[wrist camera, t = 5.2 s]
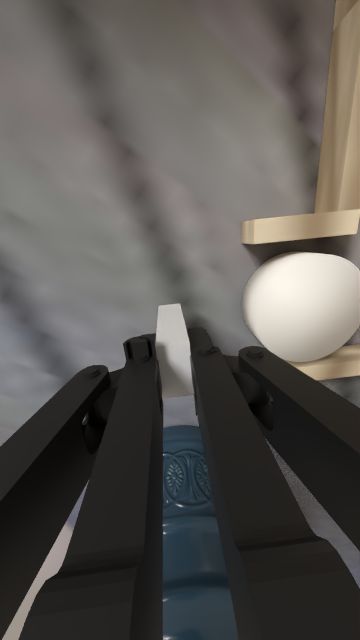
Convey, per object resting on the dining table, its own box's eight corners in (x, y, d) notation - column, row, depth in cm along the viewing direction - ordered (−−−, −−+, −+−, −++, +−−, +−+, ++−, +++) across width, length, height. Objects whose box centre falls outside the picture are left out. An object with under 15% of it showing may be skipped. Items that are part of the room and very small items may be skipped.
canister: (104, 435, 23) (-54, 956, 6) (230, 410, 23) (404, 866, 6) (136, 515, 27) (94, 941, 11) (241, 494, 27) (361, 889, 11)
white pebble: (240, 347, 21) (255, 367, 17) (240, 256, 18) (258, 260, 15) (326, 337, 21) (356, 355, 18) (339, 246, 18) (378, 248, 15)
